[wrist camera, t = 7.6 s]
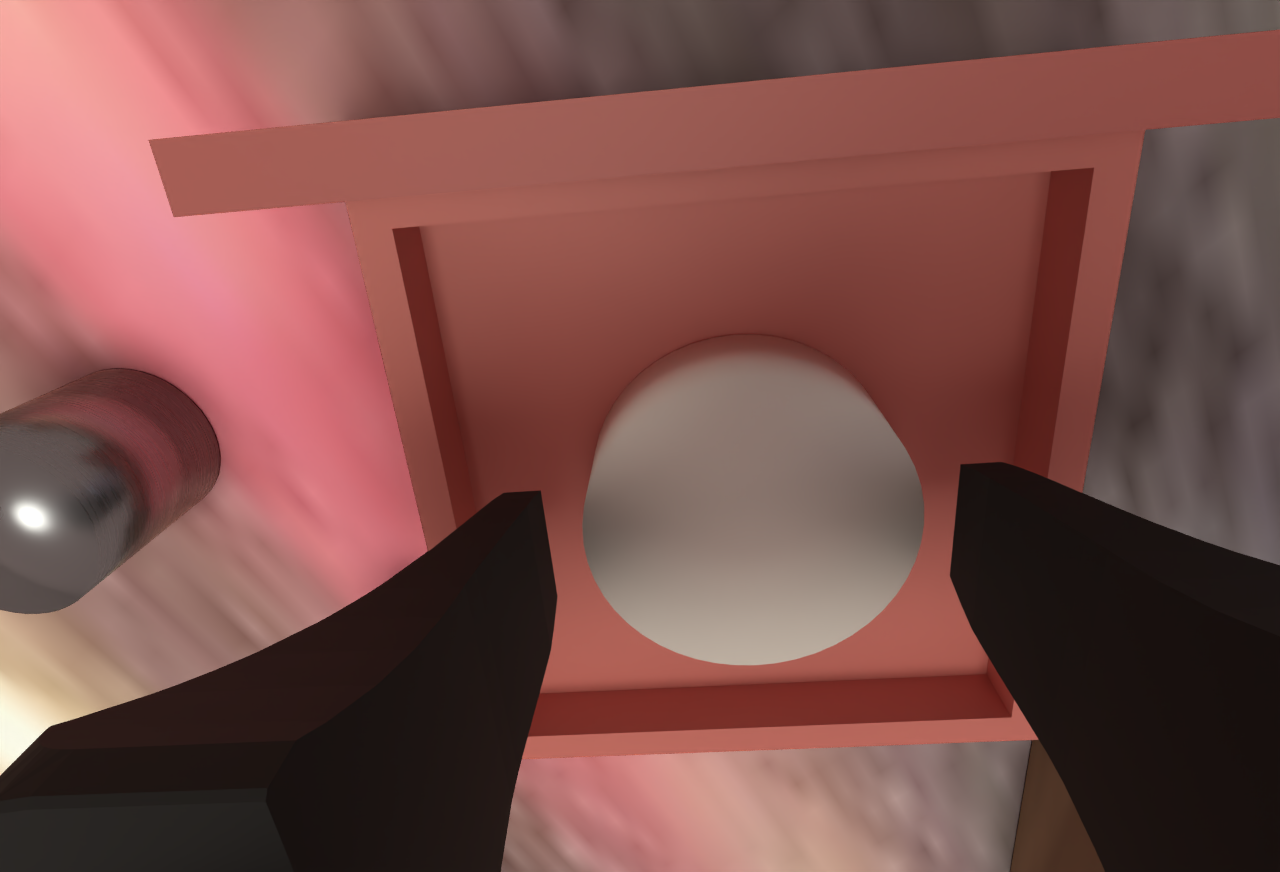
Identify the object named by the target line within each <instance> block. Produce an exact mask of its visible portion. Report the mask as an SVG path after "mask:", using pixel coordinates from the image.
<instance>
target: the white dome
mask: <svg viewBox="0 0 1280 872" xmlns="http://www.w3.org/2000/svg"><path fill="white" fill-rule="evenodd" d="M923 528H924V501H923V494H922V488H921V484H920V481H919V477H918V474H917V471H916V468H915V466H914V464H913V462H912V460H911V458H910V456H909V454H908V452H907V450H906V448H905V447H904V445H903V444H902V442H901V441H900V439H899V438H898V437H897V435H896V434H895V432H894V431H893V429H892V428H891V426H890V425H889V423H888V422H887V420H886V419H885V417H884V416H883V414H882V413H881V411H880V410H879V409H878V407H877V406H876V404H875V403H874V401H873V400H872V398H871V397H870V396H869V394H868V393H867V391H866V390H865V389H864V387H863V386H862V385H861V383H860V382H859V381H858V380H857V379H856V378H855V377H854V376H853V375H852V374H851V373H850V372H849V371H848V370H847V369H845V368H844V367H843V366H841V365H840V364H839V363H837V362H836V361H835V360H833V359H832V358H830V357H828V356H827V355H825V354H823V353H821V352H819V351H818V350H816V349H814V348H811V347H809V346H806V345H803V344H801V343H798V342H796V341H792V340H787V339H783V338H779V337H774V336H765V335H756V334H747V335H729V336H722V337H715V338H710V339H707V340H703V341H699V342H696V343H692V344H690V345H687V346H685V347H683V348H680V349H678V350H675V351H673V352H671V353H670V354H668V355H666V356H664V357H663V358H661V359H659V360H657V361H656V362H654V363H653V364H652V365H651V366H649V367H648V368H647V369H645V370H644V371H643V372H641V373H640V374H639V375H638V376H637V377H636V378H635V379H634V380H633V381H632V382H631V383H630V384H629V385H628V386H627V387H626V388H625V389H624V391H623V392H622V393H621V395H620V396H619V397H618V399H617V400H616V401H615V403H614V404H613V406H612V408H611V410H610V411H609V413H608V415H607V417H606V419H605V421H604V424H603V426H602V429H601V431H600V434H599V438H598V442H597V446H596V450H595V455H594V460H593V465H592V470H591V474H590V479H589V484H588V489H587V494H586V499H585V504H584V511H583V523H582V529H583V543H584V549H585V553H586V557H587V562H588V565H589V567H590V570H591V572H592V575H593V577H594V580H595V582H596V583H597V585H598V587H599V589H600V590H601V592H602V594H603V596H604V597H605V598H606V600H607V601H608V602H609V604H610V605H611V606H612V607H613V609H614V610H615V611H616V612H617V613H618V614H619V615H620V616H621V617H622V618H623V619H624V620H625V621H626V622H627V623H628V624H629V625H630V626H632V627H633V628H634V629H636V630H637V631H638V632H640V633H641V634H642V635H644V636H645V637H647V638H649V639H650V640H652V641H654V642H655V643H657V644H659V645H661V646H663V647H665V648H667V649H669V650H672V651H674V652H676V653H679V654H682V655H685V656H688V657H691V658H694V659H698V660H703V661H708V662H712V663H719V664H728V665H764V664H774V663H780V662H785V661H790V660H795V659H798V658H802V657H805V656H808V655H811V654H815V653H817V652H820V651H822V650H824V649H827V648H829V647H831V646H834V645H836V644H837V643H839V642H841V641H843V640H844V639H846V638H848V637H850V636H852V635H853V634H854V633H856V632H857V631H859V630H860V629H861V628H863V627H864V626H866V625H867V624H868V623H870V622H871V621H872V620H873V619H874V618H875V617H876V616H877V615H878V614H879V613H881V612H882V611H883V610H884V609H885V607H886V606H887V605H888V604H889V603H890V602H891V601H892V599H893V598H894V597H895V596H896V595H897V593H898V592H899V590H900V589H901V587H902V585H903V584H904V582H905V581H906V579H907V578H908V575H909V573H910V571H911V569H912V567H913V565H914V563H915V561H916V558H917V554H918V551H919V548H920V545H921V540H922V534H923Z"/></svg>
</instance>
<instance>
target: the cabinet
mask: <svg viewBox="0 0 1280 872" xmlns="http://www.w3.org/2000/svg"><path fill="white" fill-rule="evenodd" d="M1010 872H1105V871H1104V868H1103V866H1102V864H1101V862H1100V859H1099V857H1098V855H1097V853H1096V850H1095V848H1094V846H1093V844H1092V842H1091V840H1090V838H1089V836H1088V834H1087V831H1086V829H1085V827H1084V825H1083V823H1082V821H1081V819H1080V817H1079V815H1078V812H1077V810H1076V808H1075V806H1074V804H1073V802H1072V800H1071V798H1070V796H1069V794H1068V791H1067V789H1066V787H1065V785H1064V783H1063V781H1062V779H1061V778H1060V776H1059V774H1058V772H1057V770H1056V769H1055V767H1054V765H1053V763H1052V761H1051V760H1050V758H1049V756H1048V754H1047V752H1046V751H1045V749H1044V747H1043V746H1042V744H1041V743H1040V741H1039V740H1032V746H1031V752H1030V758H1029V764H1028V770H1027V776H1026V782H1025V788H1024V793H1023V799H1022V805H1021V811H1020V817H1019V823H1018V829H1017V835H1016V841H1015V847H1014V853H1013V859H1012V865H1011V871H1010Z"/></svg>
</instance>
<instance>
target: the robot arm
mask: <svg viewBox="0 0 1280 872" xmlns="http://www.w3.org/2000/svg"><path fill="white" fill-rule="evenodd" d="M950 578H951V581H952V583H953V586H954V588H955V591H956V593H957V596H958V598H959V601H960V603H961V606H962V608H963V610H964V612H965V615H966V617H967V619H968V622H969V624H970V626H971V628H972V630H973V632H974V634H975V636H976V637H977V639H978V641H979V642H980V644H981V646H982V648H983V649H984V651H985V653H986V654H987V656H988V658H989V659H990V661H991V663H992V664H993V666H994V668H995V669H996V671H997V673H998V674H999V676H1000V677H1001V679H1002V681H1003V682H1004V684H1005V686H1006V687H1007V689H1008V690H1009V692H1010V694H1011V695H1012V697H1013V699H1014V700H1015V702H1016V703H1017V705H1018V707H1019V708H1020V710H1021V712H1022V713H1023V715H1024V717H1025V718H1026V720H1027V721H1028V723H1029V725H1030V726H1031V728H1032V730H1033V731H1034V733H1035V734H1036V736H1037V738H1038V739H1039V741H1040V743H1041V744H1042V746H1043V747H1044V749H1045V751H1046V752H1047V754H1048V756H1049V758H1050V760H1051V761H1052V763H1053V765H1054V767H1055V769H1056V770H1057V772H1058V774H1059V776H1060V778H1061V779H1062V781H1063V783H1064V785H1065V787H1066V789H1067V791H1068V794H1069V796H1070V798H1071V800H1072V802H1073V804H1074V806H1075V808H1076V810H1077V812H1078V815H1079V817H1080V819H1081V821H1082V823H1083V825H1084V827H1085V829H1086V831H1087V834H1088V836H1089V838H1090V840H1091V842H1092V844H1093V846H1094V848H1095V850H1096V853H1097V855H1098V857H1099V859H1100V862H1101V864H1102V866H1103V868H1104V871H1105V872H1280V565H1276V564H1273V563H1270V562H1267V561H1263V560H1260V559H1257V558H1253V557H1250V556H1247V555H1244V554H1240V553H1237V552H1234V551H1231V550H1228V549H1225V548H1222V547H1219V546H1216V545H1213V544H1210V543H1207V542H1204V541H1202V540H1199V539H1196V538H1194V537H1191V536H1188V535H1185V534H1183V533H1180V532H1177V531H1175V530H1172V529H1169V528H1167V527H1164V526H1161V525H1159V524H1156V523H1153V522H1151V521H1148V520H1146V519H1143V518H1141V517H1138V516H1136V515H1133V514H1131V513H1129V512H1126V511H1124V510H1121V509H1119V508H1116V507H1114V506H1112V505H1109V504H1107V503H1105V502H1102V501H1100V500H1097V499H1095V498H1093V497H1090V496H1088V495H1086V494H1083V493H1081V492H1079V491H1076V490H1074V489H1072V488H1069V487H1067V486H1065V485H1062V484H1060V483H1058V482H1055V481H1053V480H1051V479H1048V478H1046V477H1043V476H1041V475H1038V474H1036V473H1033V472H1031V471H1028V470H1026V469H1023V468H1020V467H1017V466H1014V465H1011V464H1007V463H1004V462H990V463H974V464H960V474H959V485H958V495H957V505H956V516H955V526H954V536H953V547H952V557H951V567H950ZM557 597H558V596H557V590H556V583H555V577H554V571H553V564H552V558H551V552H550V545H549V539H548V533H547V527H546V520H545V514H544V508H543V501H542V495H541V490H540V491H523V492H507V493H502V494H501V495H499V496H498V497H496V498H495V499H493V500H492V501H491V502H490V503H488V504H487V505H486V506H484V507H483V508H482V509H481V510H479V511H478V512H477V513H476V514H474V515H473V516H472V517H471V518H470V519H468V520H467V521H466V522H465V523H463V524H462V525H461V526H460V527H458V528H457V529H456V530H455V531H453V532H452V533H451V534H450V535H448V536H447V537H446V538H445V539H443V540H442V541H441V542H440V543H438V544H437V545H436V546H435V547H433V548H432V549H431V550H429V551H428V552H427V553H425V554H424V555H422V556H421V557H420V558H418V559H417V560H415V561H414V562H413V563H411V564H410V565H408V566H407V567H406V568H404V569H403V570H402V571H400V572H399V573H397V574H396V575H395V576H393V577H392V578H390V579H389V580H388V581H386V582H385V583H383V584H382V585H380V586H379V587H377V588H376V589H374V590H372V591H371V592H369V593H368V594H366V595H365V596H363V597H361V598H360V599H358V600H356V601H355V602H353V603H351V604H350V605H348V606H346V607H344V608H343V609H341V610H339V611H337V612H336V613H334V614H332V615H331V616H329V617H327V618H325V619H323V620H321V621H320V622H318V623H316V624H314V625H312V626H310V627H308V628H306V629H304V630H302V631H300V632H298V633H295V634H293V635H291V636H289V637H287V638H285V639H283V640H281V641H279V642H277V643H275V644H273V645H271V646H269V647H267V648H265V649H263V650H261V651H259V652H257V653H254V654H252V655H250V656H248V657H245V658H243V659H241V660H238V661H236V662H233V663H231V664H229V665H226V666H224V667H222V668H219V669H217V670H214V671H212V672H209V673H207V674H204V675H202V676H199V677H196V678H194V679H191V680H189V681H186V682H184V683H181V684H178V685H176V686H173V687H170V688H167V689H165V690H162V691H159V692H156V693H154V694H151V695H148V696H144V697H141V698H138V699H135V700H132V701H129V702H126V703H123V704H120V705H117V706H114V707H110V708H107V709H104V710H101V711H98V712H95V713H92V714H89V715H86V716H83V717H80V718H77V719H73V720H70V721H67V722H63V723H60V724H56V725H53V726H50V727H49V728H48V729H47V730H45V731H44V732H43V733H42V734H41V735H40V736H39V737H38V738H37V739H36V740H35V741H34V742H33V743H32V744H31V745H30V746H29V747H28V748H27V749H26V750H25V751H24V752H23V753H22V754H21V755H20V756H19V757H18V758H17V759H16V760H15V761H14V762H13V763H12V764H11V765H10V766H9V767H8V768H7V769H6V770H5V771H4V772H3V773H2V774H1V775H0V872H501V865H502V859H503V852H504V846H505V840H506V834H507V828H508V821H509V815H510V809H511V803H512V798H513V793H514V789H515V784H516V780H517V775H518V771H519V767H520V764H521V760H522V756H523V753H524V749H525V745H526V742H527V738H528V734H529V731H530V727H531V723H532V720H533V716H534V712H535V709H536V705H537V701H538V698H539V694H540V690H541V686H542V683H543V679H544V675H545V671H546V667H547V664H548V660H549V656H550V652H551V646H552V639H553V632H554V624H555V615H556V606H557Z"/></svg>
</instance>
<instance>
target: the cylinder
mask: <svg viewBox="0 0 1280 872" xmlns="http://www.w3.org/2000/svg"><path fill="white" fill-rule="evenodd" d="M219 467H220V454H219V447H218V444H217V440H216V437H215V435H214V432H213V430H212V428H211V426H210V424H209V422H208V421H207V419H206V418H205V416H204V415H203V413H202V412H201V411H200V409H199V408H198V407H197V406H196V405H195V404H194V403H193V402H192V401H191V400H190V399H189V398H188V397H187V396H186V395H185V394H183V393H182V392H181V391H179V390H178V389H177V388H175V387H174V386H172V385H170V384H169V383H167V382H165V381H163V380H161V379H159V378H157V377H155V376H152V375H149V374H147V373H144V372H140V371H135V370H129V369H107V370H101V371H98V372H95V373H92V374H90V375H87V376H85V377H83V378H80V379H78V380H76V381H74V382H71V383H69V384H67V385H65V386H62V387H60V388H58V389H55V390H53V391H51V392H49V393H46V394H44V395H42V396H40V397H37V398H35V399H33V400H30V401H28V402H26V403H24V404H21V405H19V406H17V407H15V408H12V409H10V410H8V411H6V412H3V413H1V414H0V610H4V611H9V612H14V613H23V614H40V613H49V612H53V611H57V610H60V609H63V608H65V607H68V606H70V605H71V604H73V603H75V602H76V601H78V600H79V599H80V598H82V597H83V596H84V595H85V594H86V593H88V592H89V591H90V590H91V589H93V588H94V587H95V586H96V585H97V584H99V583H100V582H101V581H102V580H104V579H105V578H106V577H107V576H109V575H110V574H111V573H112V572H113V571H115V570H116V569H117V568H118V567H120V566H121V565H122V564H123V563H124V562H126V561H127V560H128V559H129V558H131V557H132V556H133V555H134V554H135V553H137V552H138V551H139V550H140V549H142V548H143V547H144V546H145V545H147V544H148V543H149V542H150V541H151V540H153V539H154V538H155V537H156V536H158V535H159V534H160V533H161V532H162V531H164V530H165V529H166V528H167V527H169V526H170V525H171V524H172V523H174V522H175V521H176V520H177V519H178V518H180V517H181V516H182V515H183V514H185V513H186V512H187V511H188V510H189V509H191V508H192V507H193V506H194V505H196V504H197V503H198V502H199V501H200V500H202V499H203V498H204V497H205V496H206V495H207V494H208V493H209V492H210V490H211V489H212V487H213V486H214V484H215V482H216V479H217V476H218V473H219Z"/></svg>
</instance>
